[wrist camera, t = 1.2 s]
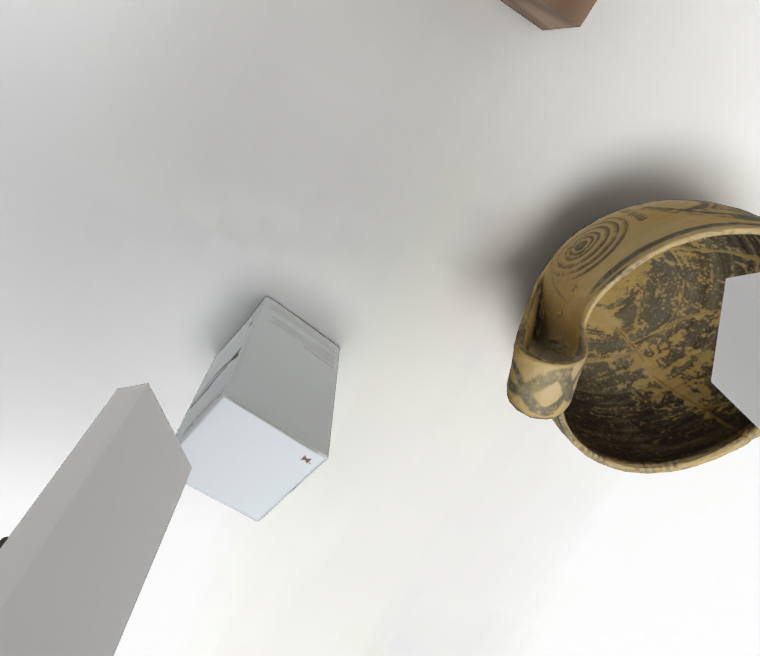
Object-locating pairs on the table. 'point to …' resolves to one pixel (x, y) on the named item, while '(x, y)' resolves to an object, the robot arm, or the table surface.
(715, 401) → the ceramic bowl
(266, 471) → the supplement box
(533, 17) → the walnut block
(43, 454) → the table surface
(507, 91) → the table surface
